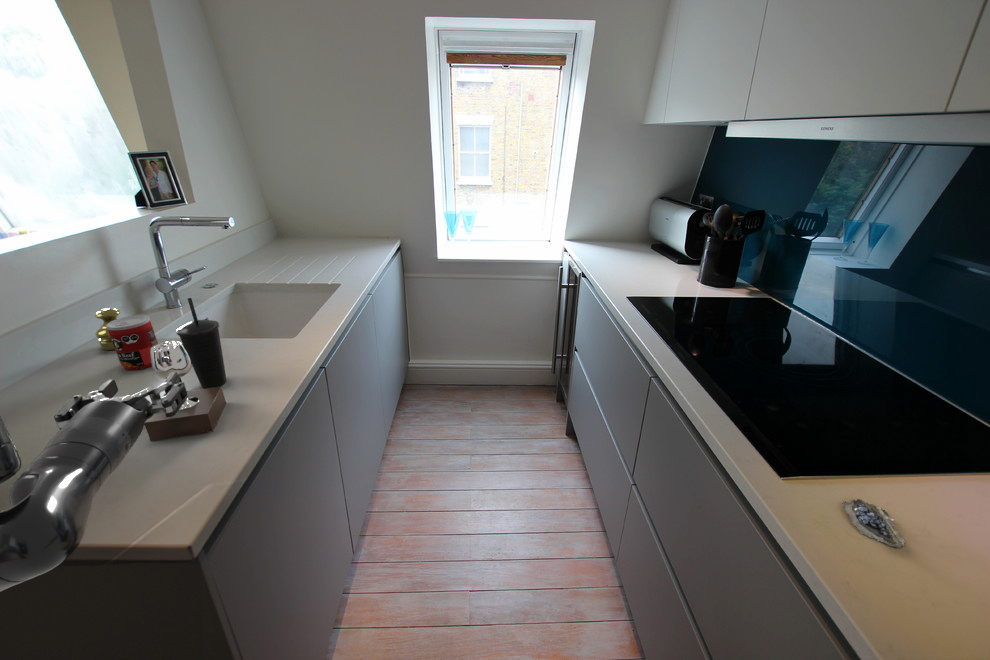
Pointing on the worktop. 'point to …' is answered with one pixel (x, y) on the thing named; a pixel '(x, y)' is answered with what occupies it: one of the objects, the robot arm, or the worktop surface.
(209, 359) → the drinking cup
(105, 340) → the brass candlestick
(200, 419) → the walnut block
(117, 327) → the canned food
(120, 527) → the worktop surface
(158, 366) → the wineglass
